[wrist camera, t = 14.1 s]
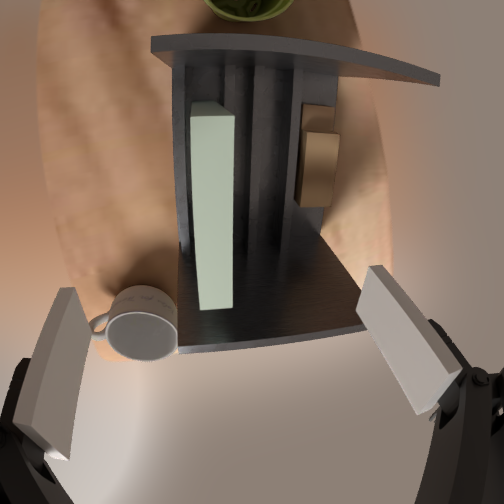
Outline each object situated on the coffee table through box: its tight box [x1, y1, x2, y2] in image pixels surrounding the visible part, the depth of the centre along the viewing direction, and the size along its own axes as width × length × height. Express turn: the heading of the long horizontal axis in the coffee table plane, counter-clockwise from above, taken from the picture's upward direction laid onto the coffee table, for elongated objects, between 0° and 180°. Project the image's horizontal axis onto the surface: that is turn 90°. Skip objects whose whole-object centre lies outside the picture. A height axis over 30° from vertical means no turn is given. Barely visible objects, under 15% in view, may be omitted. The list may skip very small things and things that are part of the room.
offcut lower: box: [293, 103, 335, 200], centre depth 36 cm, size 12×4×2 cm, turn 178°
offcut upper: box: [295, 129, 340, 207], centre depth 35 cm, size 9×4×2 cm, turn 178°
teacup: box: [89, 285, 178, 362], centre depth 42 cm, size 14×11×8 cm
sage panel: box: [190, 100, 235, 310], centre depth 27 cm, size 14×2×18 cm, turn 178°
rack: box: [151, 33, 440, 354], centre depth 29 cm, size 24×20×20 cm
